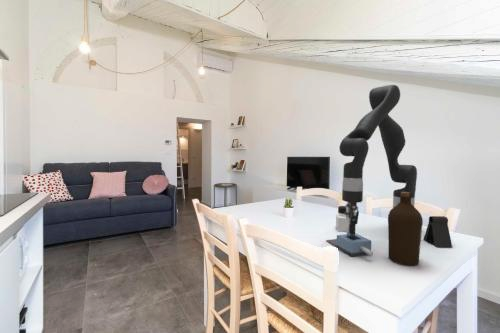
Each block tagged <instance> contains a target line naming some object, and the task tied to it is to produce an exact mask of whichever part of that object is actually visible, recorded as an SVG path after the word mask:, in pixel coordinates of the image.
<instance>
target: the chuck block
mask: <svg viewBox="0 0 500 333" xmlns="http://www.w3.org/2000/svg"><path fill="white" fill-rule="evenodd" d="M336 239H337V248H338V249H337V248H336V249H337V250H338V251H340V252H342V253H344V254H345V255H347V256H348V257H350V258H355V257H362V256H373V254H374V251H373V250H372V240H371V239H369V238H367V237H364V236H363V235H361V234H358V233H356V232H355V240H351V239H349V238H347V233H345V234H344V233H343V234H336Z"/></svg>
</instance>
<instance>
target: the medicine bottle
mask: <svg viewBox="0 0 500 333" xmlns="http://www.w3.org/2000/svg"><path fill="white" fill-rule="evenodd" d="M337 208H338V210H337V213H336V214H335V227H336V230H337V232H346V233H347V218H346V215H345V212H346V205H339V206H338V207H337Z"/></svg>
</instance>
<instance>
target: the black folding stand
mask: <svg viewBox="0 0 500 333" xmlns="http://www.w3.org/2000/svg"><path fill="white" fill-rule="evenodd" d="M448 223H449V218H448V217H447V216H443V215H441V216H439V215H437V216H434V215H433V216H432V215H430V216H429V217H428V224H427V227H426V230H425V232H424V235H423V236H424V237H423V238H422V239H423V241H424V242H425V243H427V244H430V245H431V246H434V247H435V248H436V249H439V248H440V249H447V248H448V249H453V243H452V239H451V234H450V229H449V224H448Z"/></svg>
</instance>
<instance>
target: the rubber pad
mask: <svg viewBox="0 0 500 333" xmlns="http://www.w3.org/2000/svg"><path fill="white" fill-rule="evenodd" d="M326 243H328V244H330V245H332V246H333V245H334V247H335V248H336V247H337V238H333V239H326Z"/></svg>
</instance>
